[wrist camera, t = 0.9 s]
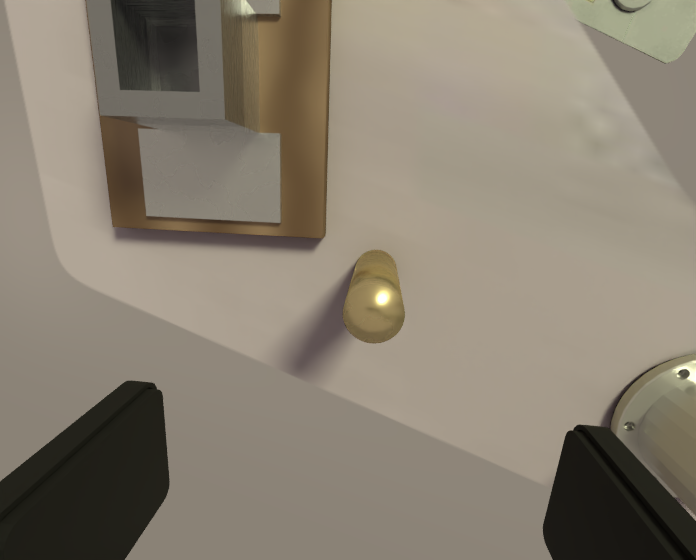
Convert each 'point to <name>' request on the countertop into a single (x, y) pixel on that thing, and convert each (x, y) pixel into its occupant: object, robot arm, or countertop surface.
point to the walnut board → (275, 117)
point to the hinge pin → (374, 299)
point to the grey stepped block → (191, 103)
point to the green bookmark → (642, 23)
